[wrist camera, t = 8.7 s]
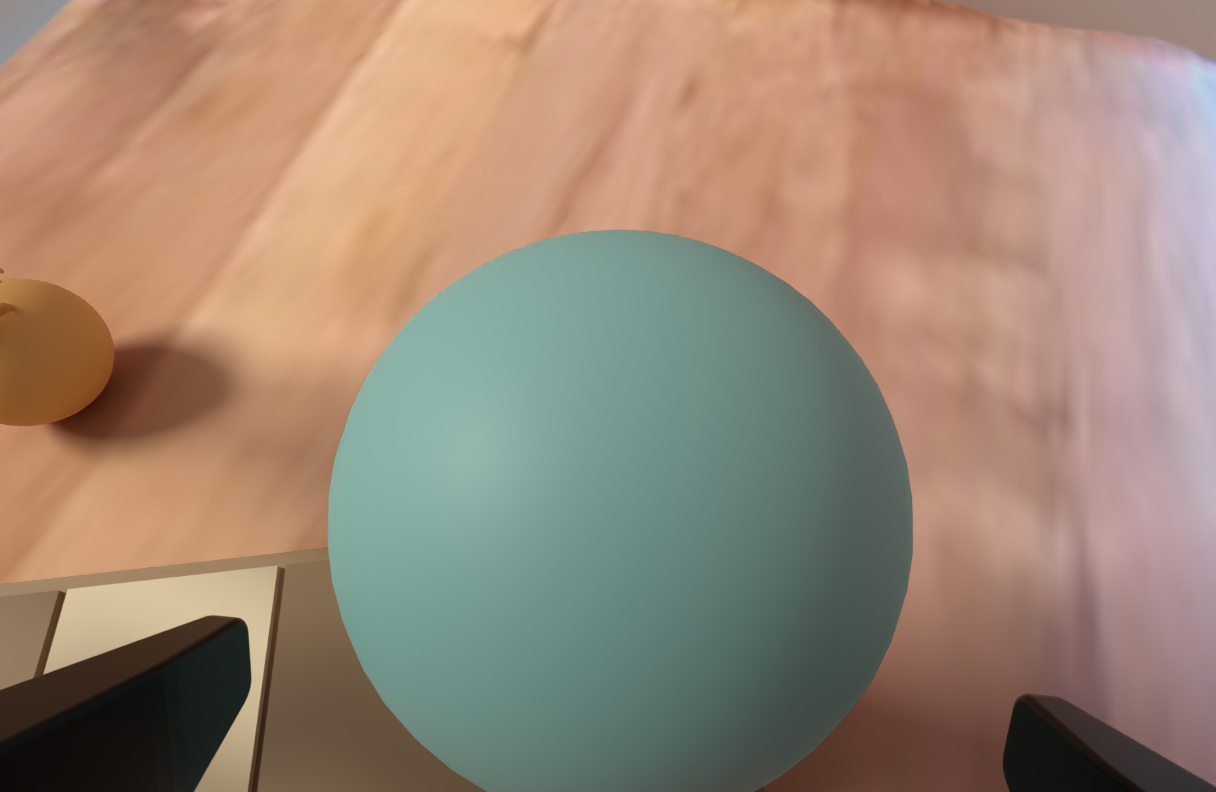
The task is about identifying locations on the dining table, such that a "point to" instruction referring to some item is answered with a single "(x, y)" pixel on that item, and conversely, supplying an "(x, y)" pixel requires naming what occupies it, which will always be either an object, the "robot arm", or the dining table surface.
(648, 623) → the pawn
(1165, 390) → the dining table surface
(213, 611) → the board
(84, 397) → the figurine
